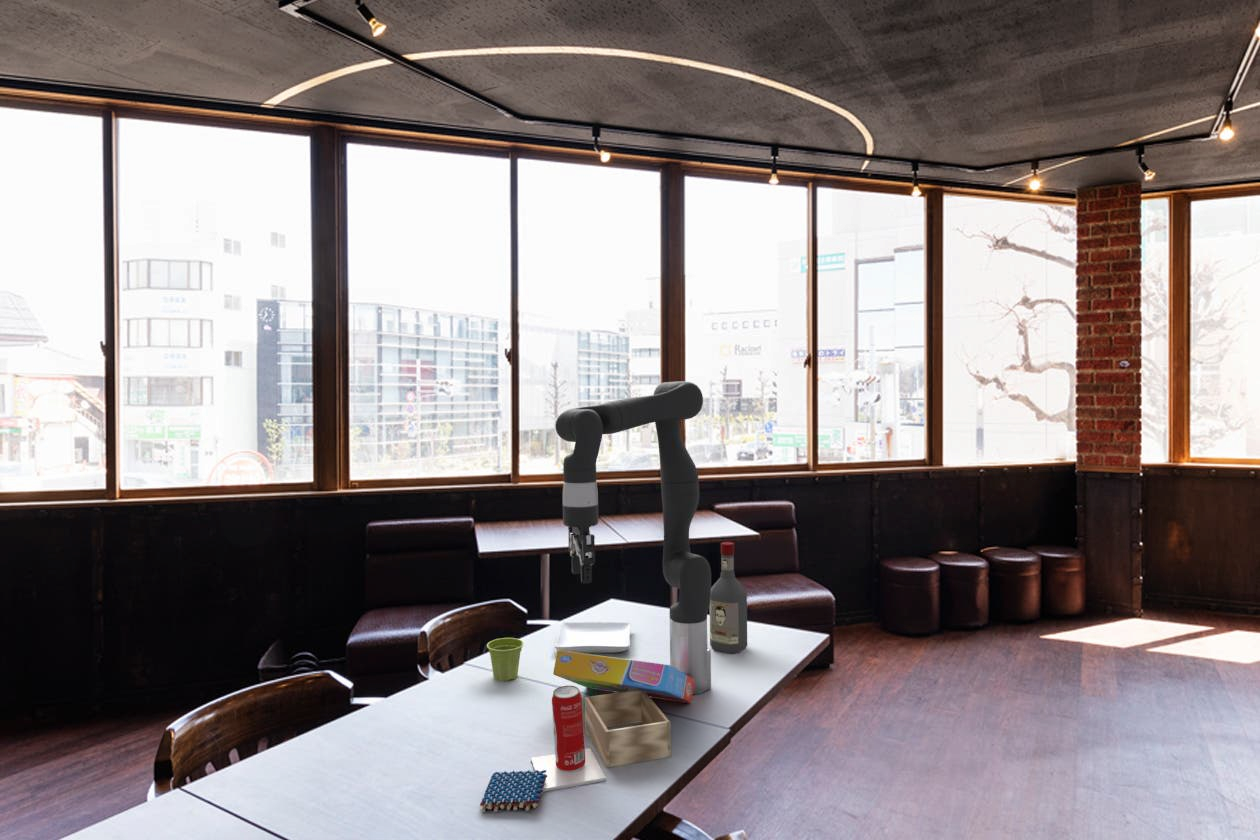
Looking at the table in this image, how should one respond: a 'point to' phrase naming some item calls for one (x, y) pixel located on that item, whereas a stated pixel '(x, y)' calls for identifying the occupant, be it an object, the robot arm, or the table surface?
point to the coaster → (568, 779)
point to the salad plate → (593, 637)
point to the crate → (627, 728)
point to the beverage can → (568, 728)
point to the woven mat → (514, 790)
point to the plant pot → (505, 657)
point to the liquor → (728, 608)
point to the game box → (624, 675)
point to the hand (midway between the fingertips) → (581, 578)
